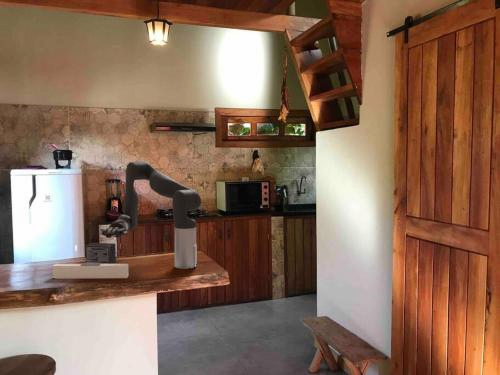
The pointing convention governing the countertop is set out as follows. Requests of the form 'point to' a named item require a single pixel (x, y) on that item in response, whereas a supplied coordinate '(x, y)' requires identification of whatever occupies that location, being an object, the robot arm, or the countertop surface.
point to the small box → (101, 253)
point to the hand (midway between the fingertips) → (108, 235)
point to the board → (90, 270)
